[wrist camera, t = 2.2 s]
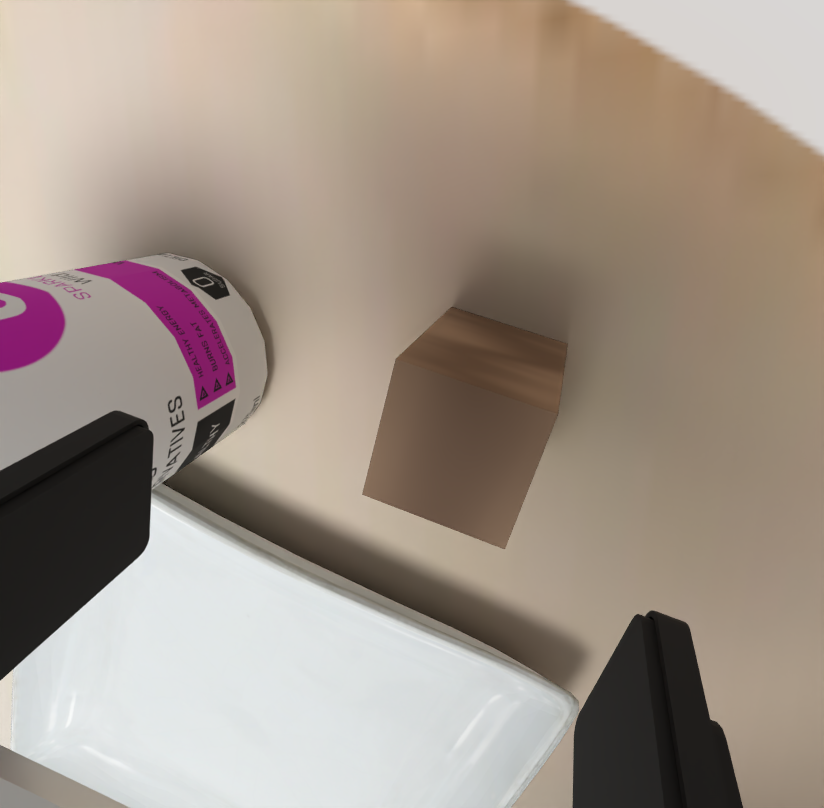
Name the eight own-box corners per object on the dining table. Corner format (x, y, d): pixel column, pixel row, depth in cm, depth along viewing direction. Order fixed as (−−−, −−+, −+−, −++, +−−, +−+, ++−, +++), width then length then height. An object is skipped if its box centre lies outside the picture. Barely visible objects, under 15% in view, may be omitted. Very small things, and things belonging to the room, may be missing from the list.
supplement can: (110, 234, 25) (-454, 300, 11) (283, 275, 23) (-136, 410, 10) (117, 404, 28) (-313, 611, 15) (270, 450, 27) (-57, 729, 13)
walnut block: (567, 343, 21) (557, 414, 15) (528, 447, 23) (504, 549, 17) (451, 306, 22) (395, 358, 16) (422, 410, 24) (362, 494, 17)
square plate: (399, 921, 38) (379, 997, 34) (51, 721, 41) (1, 772, 37) (588, 648, 26) (588, 721, 22) (81, 399, 29) (12, 429, 26)
